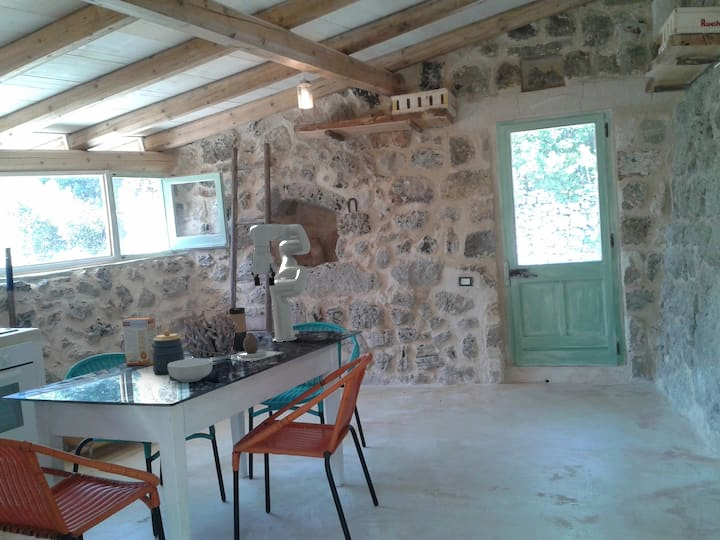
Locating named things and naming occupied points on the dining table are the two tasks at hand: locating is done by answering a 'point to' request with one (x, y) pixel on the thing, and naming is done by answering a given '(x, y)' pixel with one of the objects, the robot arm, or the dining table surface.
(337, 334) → the dining table surface
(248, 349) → the vase
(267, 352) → the flange plate
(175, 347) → the canister
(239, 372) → the dining table surface
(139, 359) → the cracker box
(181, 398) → the dining table surface
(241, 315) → the travel mug
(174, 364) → the cereal bowl
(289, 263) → the robot arm
